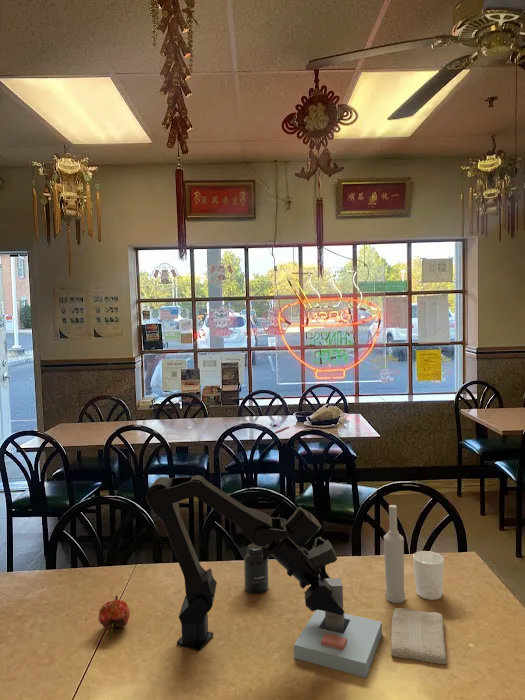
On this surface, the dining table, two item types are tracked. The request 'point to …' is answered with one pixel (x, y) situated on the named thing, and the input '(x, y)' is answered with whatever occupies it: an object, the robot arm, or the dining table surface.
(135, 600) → the dining table surface
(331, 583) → the plug
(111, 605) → the pomegranate
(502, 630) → the dining table surface
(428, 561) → the white cup
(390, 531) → the bottle
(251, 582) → the supplement bottle
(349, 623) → the socket plate
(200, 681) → the dining table surface
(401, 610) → the washcloth
